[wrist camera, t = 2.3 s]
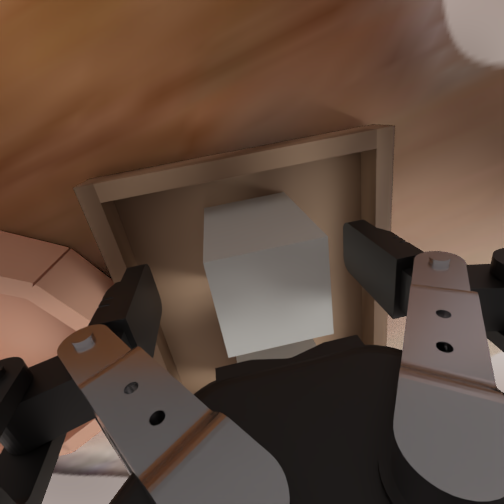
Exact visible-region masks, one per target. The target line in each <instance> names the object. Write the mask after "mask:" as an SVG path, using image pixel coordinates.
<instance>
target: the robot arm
mask: <svg viewBox="0 0 504 504" xmlns="http://www.w3.org/2000/svg"><path fill="white" fill-rule="evenodd" d="M343 257H344V263H345V266H346V269H347V270H348V272H349V273H350V274H351V275H352V276H353V277H354V278H355V279H356V280H357V281H358V282H359V284H360V285H361V286H362V287H363V288H364V289H365V290H366V291H367V292H368V293H369V294H370V295H371V296H372V297H373V298H374V299H375V301H376V302H377V303H378V304H379V305H380V306H381V307H382V308H383V309H384V310H385V311H386V312H387V313H388V314H389V315H390V316H391V317H392V319H395V318H399V317H404V316H407V318H406V326H405V334H404V343H403V351H402V350H399V349H396V348H391V347H387V346H380V345H364V343H363V342H362V341H361V339H360V338H359V336H358V335H353V336H349V337H344V338H340V339H336V340H332V341H328V342H323V343H321V344H319V345H317V346H315V347H313V348H311V349H309V350H307V351H304V352H302V353H300V354H298V355H296V356H294V357H291V358H284V359H255V360H247V361H243V362H239V363H235V364H231V365H226V366H222V367H218V368H215V372H216V380H215V381H213V382H211V383H209V384H207V385H206V386H204V387H203V388H201V389H200V390H198V391H197V392H196V393H195V394H192V393H191V392H190V391H189V390H188V389H187V388H186V387H184V386H183V385H182V384H181V383H180V382H179V381H178V380H177V379H175V378H174V377H173V376H172V375H171V374H170V373H169V372H168V371H167V370H165V369H164V368H163V367H162V366H161V365H160V364H159V363H158V362H156V361H155V360H154V359H153V356H154V351H155V346H156V341H157V336H158V330H159V325H160V320H161V315H162V303H161V298H160V295H159V292H158V289H157V286H156V284H155V281H154V278H153V275H152V272H151V269H150V267H149V265H148V264H143V265H138V266H133V267H128V268H127V269H126V271H125V273H124V275H123V277H122V279H121V281H120V282H116V283H115V284H114V285H112V286H111V287H110V288H109V289H108V290H107V291H106V293H105V294H104V296H103V298H102V301H101V302H100V304H99V306H98V307H99V308H97V310H96V311H95V313H94V315H93V317H92V319H91V321H90V323H89V325H88V326H87V327H84V328H82V329H79V330H77V331H76V332H74V333H72V334H71V335H69V336H68V337H67V338H66V339H64V340H63V341H62V343H61V344H60V345H59V347H58V349H57V356H55V357H53V358H51V359H48V360H46V361H43V362H41V363H39V364H36V365H34V366H31V367H29V368H28V366H27V365H26V363H25V362H24V360H23V359H22V358H20V357H9V358H5V359H2V360H0V443H1V444H2V445H3V446H4V448H3V450H2V452H1V454H0V504H42V501H43V498H44V495H45V493H46V490H47V487H48V484H49V482H50V479H51V476H52V473H53V470H54V468H55V465H56V462H57V459H58V456H59V454H60V451H61V448H62V445H63V442H64V440H65V437H66V434H67V432H69V431H71V430H73V429H75V428H77V427H79V426H81V425H83V424H85V423H87V422H89V421H90V420H92V419H94V418H95V420H96V421H97V423H98V425H99V426H100V428H101V429H102V431H103V433H104V434H105V436H106V437H107V439H108V440H109V442H110V444H111V445H112V447H113V448H114V450H115V452H116V453H117V455H118V456H119V458H120V459H121V461H122V463H123V464H124V466H125V468H126V469H127V471H128V473H129V474H130V476H129V477H128V479H127V480H126V482H125V483H124V484H123V486H122V487H121V489H120V490H119V491H118V492H117V494H116V495H115V496H114V498H113V499H112V500H111V502H110V503H109V504H504V393H503V392H501V391H500V390H499V389H498V388H497V387H496V383H495V379H494V373H493V368H492V363H491V357H490V352H489V347H488V342H487V338H488V339H489V340H490V341H491V342H492V343H494V344H495V345H496V346H497V347H498V348H499V349H501V350H502V351H503V352H504V248H502V249H498V250H496V251H494V253H493V256H492V261H491V264H478V265H466V262H465V260H464V259H462V258H461V257H459V256H457V255H455V254H452V253H448V252H441V251H429V252H423V251H421V250H420V249H418V248H416V247H415V246H413V245H412V244H410V243H408V242H405V240H403V239H402V238H399V237H398V236H397V235H395V234H394V233H392V232H390V231H387V230H384V229H380V228H376V227H375V226H373V225H372V224H370V223H369V222H367V221H366V220H364V219H362V220H357V221H352V222H347V223H345V224H344V226H343Z"/></svg>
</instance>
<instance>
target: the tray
mask: <svg viewBox="0 0 504 504" xmlns="http://www.w3.org/2000/svg"><path fill="white" fill-rule="evenodd" d="M394 135H395V126H391V125H375V124H372V125H367V126H362V127H356V128H351V129H346V130H341V131H336V132H330V133H325V134H320V135H315V136H310V137H304V138H299V139H294V140H289V141H284V142H278V143H273V144H268V145H263V146H258V147H252V148H247V149H242V150H237V151H232V152H226V153H221V154H216V155H211V156H206V157H200V158H195V159H190V160H185V161H179V162H174V163H169V164H164V165H159V166H153V167H148V168H143V169H138V170H133V171H127V172H122V173H117V174H112V175H107V176H101V177H96V178H91V179H88V180H86V181H85V182H83V183H81V184H79V185H77V186H76V187H74V188H73V189H74V191H75V194H76V196H77V198H78V201H79V203H80V205H81V208H82V210H83V212H84V215H85V217H86V219H87V222H88V224H89V226H90V229H91V231H92V233H93V236H94V238H95V240H96V243H97V245H98V247H99V250H100V252H101V254H102V257H103V259H104V261H105V263H106V266H107V268H108V270H109V273H110V275H111V277H112V280H113V282H114V284H115V283H116V282H120V281H121V279H122V277H123V275H124V273H125V271H126V269H127V268H128V267H133V266H138V265H143V264H148V265H149V267H150V269H151V272H152V275H153V278H154V281H155V284H156V286H157V289H158V292H159V295H160V298H161V303H162V315H161V320H160V325H159V330H158V336H157V341H156V346H155V351H154V356H153V359H154V360H155V361H156V362H158V363H159V364H160V365H161V366H162V367H163V368H164V369H165V370H167V371H168V372H169V373H170V374H171V375H172V376H173V377H174V378H175V379H177V380H178V381H179V382H180V383H181V384H182V385H183V386H184V387H186V388H187V389H188V390H189V391H190V392H191V393H192V394H195V393H196V392H197V391H198V390H200V389H201V388H203V387H204V386H206V385H207V384H209V383H211V382H213V381H215V380H216V372H215V368H218V367H222V366H226V365H231V364H235V363H237V359H236V356H235V357H230V358H228V354H227V350H226V346H225V343H224V339H223V335H222V332H221V328H220V324H219V320H218V317H217V313H216V309H215V306H214V302H213V298H212V294H211V291H210V287H209V283H208V279H207V276H206V272H205V268H204V265H203V240H204V208H207V207H212V206H217V205H222V204H227V203H232V202H237V201H242V200H247V199H252V198H257V197H262V196H267V195H272V194H277V193H282V192H284V193H285V194H286V195H287V196H288V197H289V198H290V199H291V200H292V201H293V202H294V203H295V204H296V205H297V206H298V207H299V208H300V209H301V210H302V211H303V212H304V213H305V214H306V215H307V216H308V217H309V218H310V219H311V220H312V221H313V222H314V223H315V224H316V225H317V226H318V227H319V228H320V229H321V230H322V231H323V232H324V233H325V234H326V235H327V236H328V247H329V264H330V281H331V297H332V314H333V330H334V334H330V335H326V336H322V337H317V338H313V340H314V342H315V344H316V346H317V345H319V344H321V343H323V342H328V341H332V340H336V339H340V338H344V337H349V336H353V335H358V336H359V338H360V339H361V341H362V342H363V343H364V345H380V346H386V340H387V315H388V313H387V312H386V311H385V310H384V309H383V308H382V307H381V306H380V305H379V304H378V303H377V302H376V301H375V299H374V298H373V297H372V296H371V295H370V294H369V293H368V292H367V291H366V290H365V289H364V288H363V287H362V286H361V285H360V284H359V282H358V281H357V280H356V279H355V278H354V277H353V276H352V275H351V274H350V273H349V272H348V270H347V269H346V266H345V263H344V257H343V226H344V224H345V223H347V222H352V221H357V220H362V219H364V220H366V221H367V222H369V223H370V224H372V225H373V226H375V227H376V228H380V229H384V230H387V231H390V232H391V212H392V186H393V160H394Z"/></svg>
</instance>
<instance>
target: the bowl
mask: <svg viewBox="0 0 504 504" xmlns="http://www.w3.org/2000/svg"><path fill="white" fill-rule="evenodd" d="M112 285H114V282H113V280H112V279H110V278H109V277H108V276H106V275H105V274H104V273H103V272H101V271H100V270H99V269H97V268H96V267H95V266H93V265H92V264H91V263H89V262H88V261H87V260H86V259H84V258H83V257H82V256H80V255H79V254H78V253H76V252H75V251H74V250H73V249H70V250H69V247H65V246H61V245H57V244H53V243H49V242H45V241H41V240H37V239H33V238H28V237H24V236H20V235H16V234H12V233H8V232H4V231H0V360H2V359H5V358H9V357H20V358H22V359H23V360H24V362H25V363H26V365H27V366H28V368H29V367H31V366H34V365H36V364H39V363H41V362H43V361H46V360H48V359H51V358H53V357H55V356H57V349H58V347H59V345H60V344H61V343H62V341H63V340H64V339H66V338H67V337H68V336H69V335H71V334H72V333H74V332H76V331H77V330H79V329H82V328H84V327H87V326H88V325H89V323H90V321H91V319H92V317H93V315H94V313H95V311H96V310H97V308H99V307H98V306H99V304H100V302H101V301H102V298H103V296H104V294H105V293H106V291H107V290H108V289H109V288H110V287H111V286H112ZM100 431H102V429H101V428H100V426H99V425H98V423H97V421H96V420H95V418H94V419H92V420H90V421H89V422H87V423H85V424H83V425H81V426H79V427H77V428H75V429H73V430H71V431H69V432H67V434H66V437H65V440H64V442H63V445H62V448H61V451H60V454H59V456H61V455H65V454H69V453H72V452H74V451H76V450H77V449H78V448H79V447H81V446H82V445H83V444H85V443H86V442H87V441H89V440H90V439H91V438H92V437H94V436H95V435H96V434H98V433H99V432H100ZM3 448H4V446H3V445H2V444H1V443H0V454H1V452H2V450H3Z"/></svg>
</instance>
